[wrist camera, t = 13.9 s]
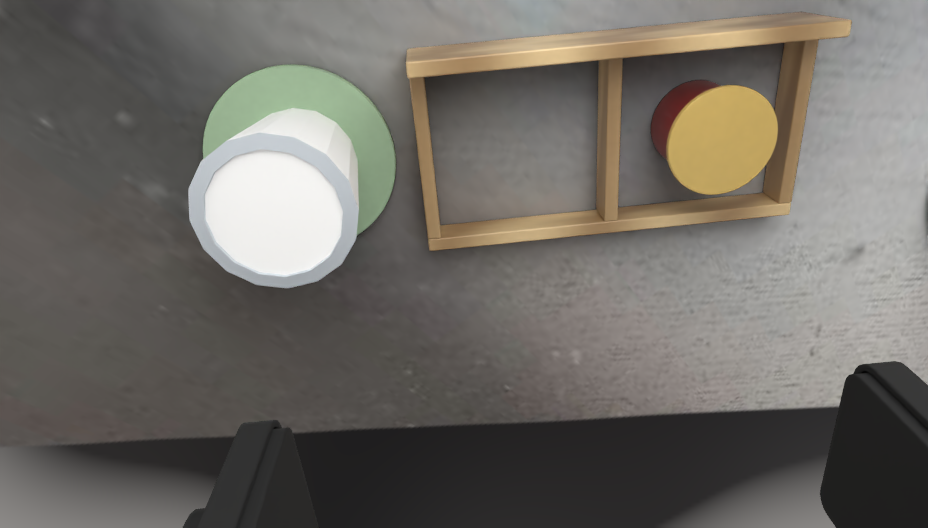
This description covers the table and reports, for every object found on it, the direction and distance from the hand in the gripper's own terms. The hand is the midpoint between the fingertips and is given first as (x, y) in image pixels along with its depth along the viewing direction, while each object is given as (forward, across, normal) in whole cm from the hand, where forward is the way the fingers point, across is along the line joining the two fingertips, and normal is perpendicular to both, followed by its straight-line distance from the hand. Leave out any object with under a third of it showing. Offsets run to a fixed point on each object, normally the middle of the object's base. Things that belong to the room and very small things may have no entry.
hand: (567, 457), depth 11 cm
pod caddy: (+24, -6, +1) cm, 25 cm away
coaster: (+23, +9, +1) cm, 25 cm away
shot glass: (+23, +9, +1) cm, 25 cm away
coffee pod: (+24, -11, +1) cm, 26 cm away
